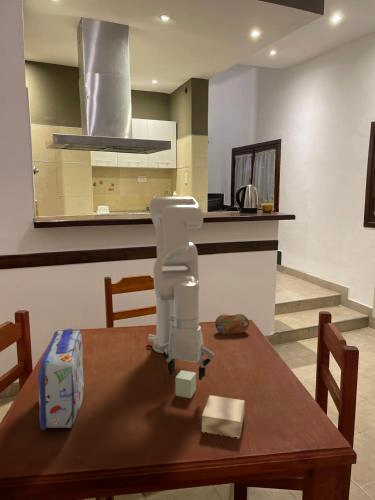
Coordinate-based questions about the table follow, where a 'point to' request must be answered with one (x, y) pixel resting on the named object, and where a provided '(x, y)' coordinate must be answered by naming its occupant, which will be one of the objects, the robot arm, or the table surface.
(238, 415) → the maple block
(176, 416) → the table surface
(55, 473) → the table surface
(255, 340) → the table surface
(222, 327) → the tin
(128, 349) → the table surface
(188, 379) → the sage block
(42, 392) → the lunch box
